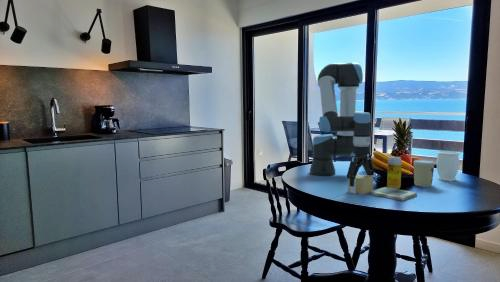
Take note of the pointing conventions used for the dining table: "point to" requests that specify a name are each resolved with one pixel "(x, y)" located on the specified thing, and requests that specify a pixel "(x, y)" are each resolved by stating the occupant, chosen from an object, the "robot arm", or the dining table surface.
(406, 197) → the blueprint board
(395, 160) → the glass of beer
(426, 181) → the coffee cup
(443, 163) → the jar
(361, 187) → the cream yellow block
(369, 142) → the robot arm
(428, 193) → the dining table surface
